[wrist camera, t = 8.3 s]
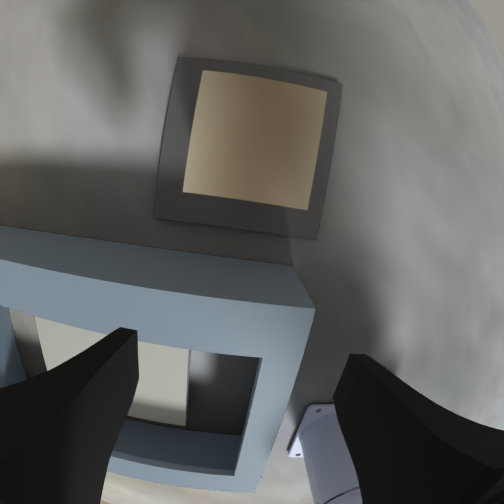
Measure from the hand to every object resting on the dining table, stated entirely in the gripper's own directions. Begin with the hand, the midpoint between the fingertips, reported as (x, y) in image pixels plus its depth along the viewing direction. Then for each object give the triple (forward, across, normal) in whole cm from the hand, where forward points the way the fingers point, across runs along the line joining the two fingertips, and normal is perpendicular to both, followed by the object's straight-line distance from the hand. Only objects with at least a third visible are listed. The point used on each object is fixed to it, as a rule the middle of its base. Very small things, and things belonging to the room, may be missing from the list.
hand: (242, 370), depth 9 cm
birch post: (+10, +1, -7) cm, 12 cm away
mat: (+10, +1, -8) cm, 13 cm away
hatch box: (+10, +8, +8) cm, 16 cm away
